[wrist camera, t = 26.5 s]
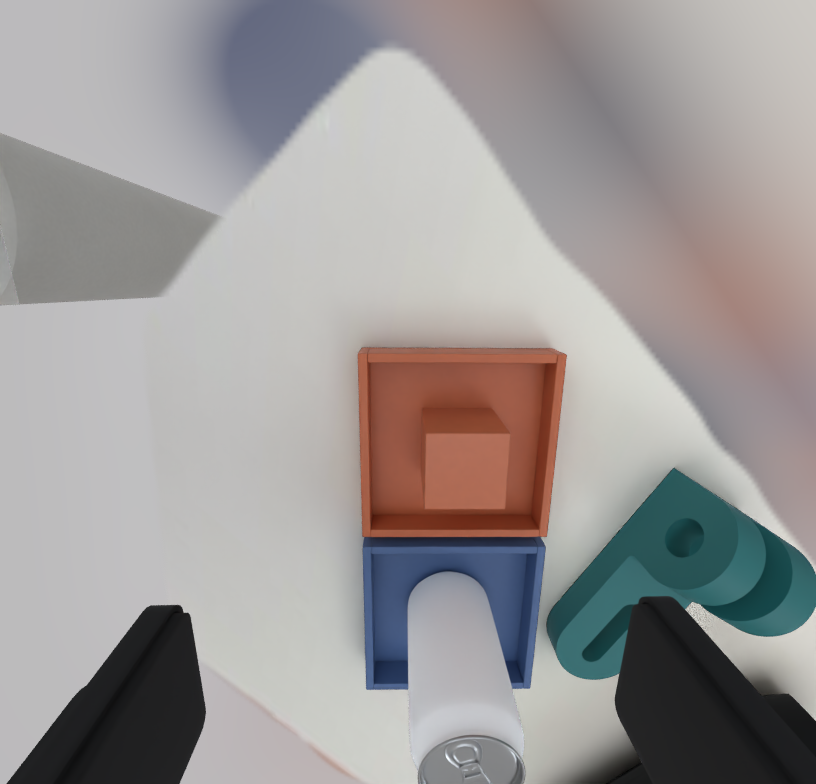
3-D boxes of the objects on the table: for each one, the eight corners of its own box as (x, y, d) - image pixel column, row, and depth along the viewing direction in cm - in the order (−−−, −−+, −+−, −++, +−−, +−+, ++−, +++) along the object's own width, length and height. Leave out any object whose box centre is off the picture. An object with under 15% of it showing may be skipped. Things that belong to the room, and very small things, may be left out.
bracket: (673, 467, 30) (764, 529, 23) (739, 509, 31) (847, 582, 24) (530, 633, 34) (567, 733, 26) (592, 666, 35) (645, 772, 27)
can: (474, 557, 31) (515, 717, 20) (496, 621, 33) (547, 804, 21) (396, 581, 32) (391, 750, 20) (422, 643, 34) (432, 832, 22)
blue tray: (368, 661, 35) (366, 689, 32) (365, 526, 31) (362, 547, 29) (521, 660, 35) (530, 688, 32) (535, 526, 31) (545, 546, 29)
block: (420, 472, 30) (424, 509, 25) (421, 407, 28) (425, 433, 23) (488, 472, 30) (505, 509, 25) (492, 408, 28) (511, 433, 23)
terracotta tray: (365, 517, 31) (362, 537, 29) (361, 347, 28) (357, 353, 25) (536, 517, 31) (547, 537, 29) (553, 348, 28) (567, 354, 25)
